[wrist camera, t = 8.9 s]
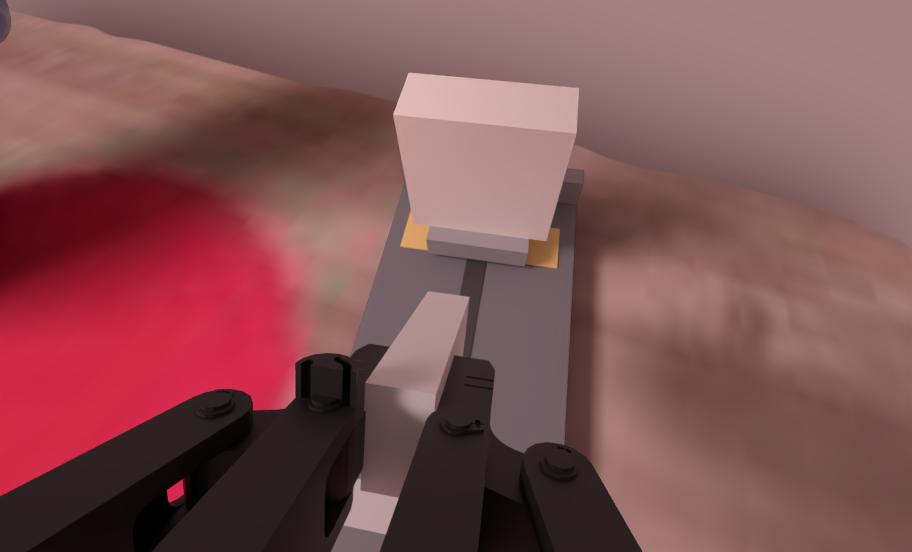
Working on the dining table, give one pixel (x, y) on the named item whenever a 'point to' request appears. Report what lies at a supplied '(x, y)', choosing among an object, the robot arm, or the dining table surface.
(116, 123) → the dining table surface
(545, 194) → the fader knob
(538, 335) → the fader deck
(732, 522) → the dining table surface
